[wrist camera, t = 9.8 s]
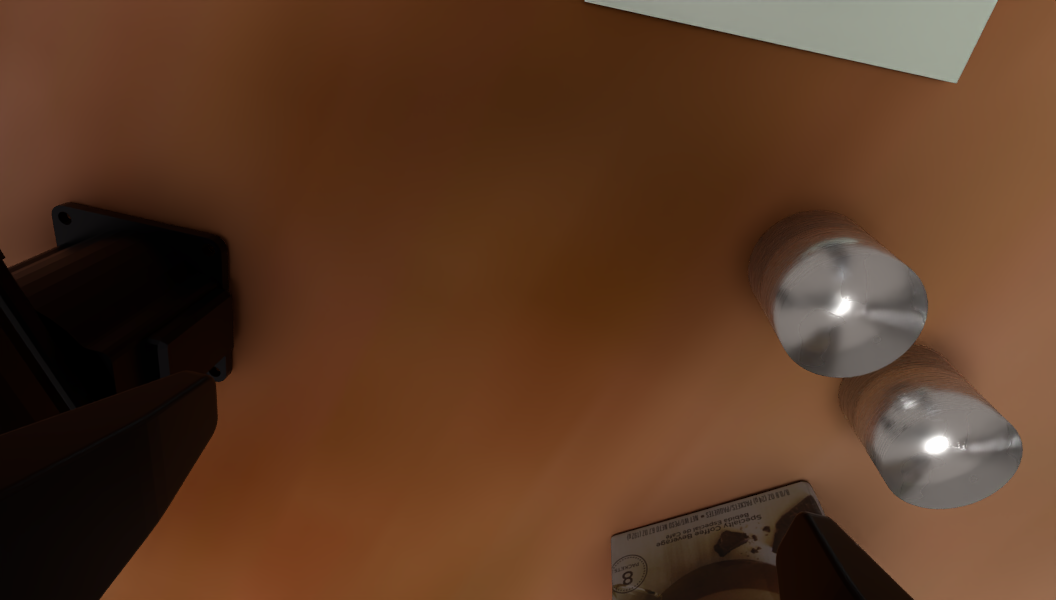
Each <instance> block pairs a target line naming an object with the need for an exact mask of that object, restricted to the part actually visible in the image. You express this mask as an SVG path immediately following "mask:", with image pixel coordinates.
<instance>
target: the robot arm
mask: <svg viewBox="0 0 1056 600" xmlns="http://www.w3.org/2000/svg"><path fill="white" fill-rule="evenodd" d="M67 214H68V215H69V216H70V217H71V220H70V218H69V217H68V216H67ZM52 219H53V225H54V231H55V236H56V242H57V247H55V248H53V249H51V250H48V251H46V252H44V253H41V254H39V255H37V256H35V257H32V258H30V259H28V260H25V261H23V262H21V263H19V264H16V265H14V266H12V267H9V268H7V266H6V265H5V263H4V262H3V259H4V258H5V256H4V255H3V253H2V252H1V250H0V600H99V599H100V598H101V597H102V595H103V594H104V593H105V592H106V590H107V589H108V588H109V586H110V585H111V584H112V582H113V581H114V580H115V579H116V577H117V576H118V575H119V573H120V572H121V571H122V569H123V568H124V567H125V565H126V564H127V563H128V562H129V560H130V559H131V558H132V556H133V555H134V554H135V552H136V551H137V550H138V549H139V547H140V546H141V545H142V543H143V542H144V541H145V539H146V538H147V537H148V536H149V534H150V533H151V531H152V530H153V529H154V527H155V526H156V525H157V523H158V522H159V520H160V519H161V517H162V516H163V514H164V513H165V511H166V510H167V508H168V507H169V505H170V503H171V502H172V500H173V499H174V497H175V495H176V494H177V492H178V490H179V489H180V487H181V486H182V484H183V482H184V481H185V479H186V477H187V476H188V474H189V473H190V471H191V469H192V468H193V466H194V464H195V463H196V461H197V460H198V458H199V456H200V455H201V453H202V451H203V450H204V448H205V447H206V445H207V443H208V442H209V440H210V438H211V437H212V435H213V433H214V431H215V429H216V425H217V420H218V414H217V395H216V383H215V382H220V381H223V380H224V379H225V378H226V377H227V376H228V375H229V374H230V373H231V370H232V366H231V350H232V349H233V347H234V341H233V311H232V296H231V294H230V292H229V282H228V255H227V246H226V244H225V242H224V241H223V240H222V239H221V238H220V237H219V236H216V235H214V234H209V233H205V232H200V231H196V230H192V229H187V228H183V227H178V226H174V225H169V224H165V223H160V222H156V221H151V220H147V219H142V218H138V217H134V216H129V215H125V214H120V213H116V212H111V211H107V210H102V209H98V208H93V207H89V206H85V205H80V204H76V203H70V202H66V203H63V204H61V205H58V206H56V207H54V208H53V210H52ZM208 244H209V245H211V246H212V247H213V248H214V250H215V253H214V252H212V251H211V250H210V249H209V248H208ZM215 367H216V368H218V369H219V370H220V371H218V370H216V368H215ZM776 570H777V579H778V587H779V596H780V600H914V599H913V598H912V597H911V596H910V595H909V594H908V593H907V592H906V591H905V590H904V589H902V588H901V587H900V586H899V585H898V584H897V583H896V582H895V581H894V580H893V579H892V578H891V577H890V576H889V575H888V574H887V573H886V572H885V571H884V570H883V569H882V568H881V567H880V566H879V565H878V564H877V563H876V562H875V561H874V560H873V559H872V558H871V557H870V556H869V555H868V554H867V553H866V552H865V551H864V550H863V549H862V548H861V547H860V546H859V545H858V544H857V543H856V542H854V541H853V540H852V539H851V538H850V537H849V536H848V535H847V534H846V533H845V532H844V531H843V530H842V529H841V528H840V527H839V526H838V525H837V524H836V523H835V522H834V521H833V520H832V519H831V518H829V517H827V516H824V515H819V514H815V513H811V512H806V511H804V512H800V513H798V514H797V515H796V516H795V518H794V520H793V521H792V523H791V525H790V527H789V529H788V530H787V532H786V534H785V536H784V538H783V539H782V541H781V543H780V545H779V547H778V550H777V553H776Z"/></svg>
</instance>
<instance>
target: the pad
mask: <svg viewBox="0 0 1056 600" xmlns="http://www.w3.org/2000/svg"><path fill="white" fill-rule="evenodd" d="M997 1H998V0H585V2H589V3H593V4H598V5H602V6H607V7H612V8H616V9H621V10H625V11H630V12H634V13H639V14H643V15H648V16H652V17H657V18H661V19H666V20H670V21H675V22H680V23H684V24H689V25H693V26H698V27H702V28H707V29H711V30H716V31H720V32H725V33H729V34H734V35H739V36H743V37H748V38H752V39H757V40H761V41H766V42H770V43H775V44H779V45H784V46H788V47H793V48H797V49H802V50H807V51H811V52H816V53H820V54H825V55H829V56H834V57H838V58H843V59H847V60H852V61H856V62H861V63H865V64H870V65H875V66H879V67H884V68H888V69H893V70H897V71H902V72H906V73H911V74H915V75H920V76H924V77H929V78H934V79H938V80H943V81H947V82H952V83H957V81H958V79H959V77H960V75H961V73H962V71H963V69H964V67H965V65H966V63H967V61H968V59H969V57H970V55H971V53H972V51H973V49H974V47H975V45H976V43H977V41H978V39H979V37H980V35H981V33H982V31H983V29H984V27H985V25H986V23H987V21H988V19H989V17H990V15H991V13H992V11H993V9H994V7H995V5H996V3H997Z"/></svg>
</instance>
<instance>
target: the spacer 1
mask: <svg viewBox="0 0 1056 600" xmlns="http://www.w3.org/2000/svg"><path fill="white" fill-rule="evenodd" d="M748 278H749V283H750V286H751V289H752V291H753V293H754V295H755V297H756V298H757V300H758V302H759V304H760V306H761V307H762V309H763V311H764V313H765V315H766V317H767V318H768V320H769V322H770V324H771V326H772V327H773V329H774V331H775V333H776V335H777V337H778V338H779V340H780V342H781V344H782V346H783V347H784V349H785V351H786V352H787V354H788V355H789V356H790V357H791V359H792V360H793V361H794V362H796V363H797V364H798V365H799V366H801V367H803V368H804V369H806V370H808V371H810V372H813V373H815V374H819V375H822V376H828V377H838V378H843V377H854V376H860V375H864V374H868V373H871V372H873V371H876V370H879V369H881V368H883V367H885V366H887V365H888V364H890V363H892V362H893V361H895V360H896V359H898V358H899V357H900V356H901V355H903V354H904V353H905V352H906V351H907V350H908V349H909V348H910V347H911V346H912V344H913V343H914V342H915V341H916V339H917V338H918V336H919V335H920V333H921V331H922V329H923V326H924V324H925V321H926V317H927V311H928V300H927V294H926V291H925V288H924V286H923V284H922V282H921V280H920V279H919V277H918V276H917V275H916V274H915V273H914V272H913V271H912V270H911V269H910V268H909V267H908V266H906V265H905V264H904V263H903V262H902V261H900V260H899V259H898V258H897V257H896V256H894V255H893V254H892V253H891V252H889V251H888V250H887V249H886V248H885V247H883V246H882V245H881V244H880V243H879V242H877V241H876V240H875V239H874V238H873V237H871V236H870V235H869V234H868V233H867V232H865V231H864V230H863V229H862V228H860V227H859V226H858V225H857V224H856V223H854V222H853V221H852V220H850V219H849V218H847V217H845V216H843V215H841V214H838V213H835V212H831V211H824V210H813V211H805V212H801V213H797V214H794V215H791V216H789V217H787V218H785V219H783V220H781V221H779V222H778V223H776V224H775V225H774V226H772V227H771V228H770V229H769V230H768V231H766V232H765V233H764V234H763V236H762V237H761V238H760V239H759V241H758V242H757V244H756V245H755V247H754V249H753V251H752V253H751V257H750V260H749V265H748Z"/></svg>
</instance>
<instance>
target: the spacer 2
mask: <svg viewBox="0 0 1056 600" xmlns="http://www.w3.org/2000/svg"><path fill="white" fill-rule="evenodd" d="M838 398H839V405H840V408H841V410H842V412H843V414H844V415H845V417H846V419H847V420H848V422H849V424H850V425H851V427H852V428H853V430H854V432H855V433H856V435H857V437H858V438H859V440H860V441H861V443H862V445H863V446H864V448H865V450H866V451H867V453H868V455H869V456H870V458H871V459H872V461H873V463H874V464H875V466H876V468H877V469H878V471H879V472H880V474H881V476H882V477H883V479H884V481H885V482H886V484H887V485H888V487H889V488H890V490H891V491H892V492H893V493H894V494H895V495H896V496H897V497H899V498H900V499H902V500H903V501H905V502H907V503H910V504H912V505H915V506H919V507H923V508H930V509H948V508H956V507H961V506H965V505H969V504H972V503H975V502H977V501H980V500H982V499H984V498H986V497H988V496H990V495H991V494H993V493H995V492H996V491H998V490H999V489H1000V488H1002V487H1003V486H1004V485H1005V484H1006V483H1007V482H1008V481H1009V480H1010V479H1011V478H1012V476H1013V475H1014V473H1015V472H1016V470H1017V469H1018V467H1019V464H1020V462H1021V458H1022V451H1023V449H1022V442H1021V439H1020V436H1019V434H1018V432H1017V431H1016V430H1015V428H1014V427H1013V426H1012V425H1011V424H1010V423H1009V422H1008V421H1007V420H1006V419H1005V418H1004V417H1003V416H1002V415H1001V414H1000V413H999V412H998V411H997V410H996V409H995V408H994V407H993V406H992V405H991V404H990V403H989V402H988V401H987V400H986V399H985V398H984V397H983V396H982V395H981V394H980V393H979V392H978V391H977V390H976V389H975V388H974V387H973V386H972V385H971V384H970V383H969V382H968V381H967V380H966V379H965V378H964V377H963V376H962V375H961V374H960V373H959V372H958V371H957V370H956V369H955V368H954V367H953V366H952V365H951V364H950V363H949V362H948V361H947V360H946V359H945V358H944V357H943V356H941V355H940V354H939V353H937V352H936V351H934V350H932V349H930V348H927V347H924V346H920V345H914V344H912V346H911V347H910V348H909V349H908V350H907V351H906V352H905V353H904V354H903V355H901V356H900V357H899V358H898V359H896V360H895V361H893V362H892V363H890V364H888V365H887V366H885V367H883V368H881V369H879V370H876V371H873V372H871V373H868V374H864V375H860V376H854V377H844V378H843V380H842V382H841V384H840V388H839V394H838Z"/></svg>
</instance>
